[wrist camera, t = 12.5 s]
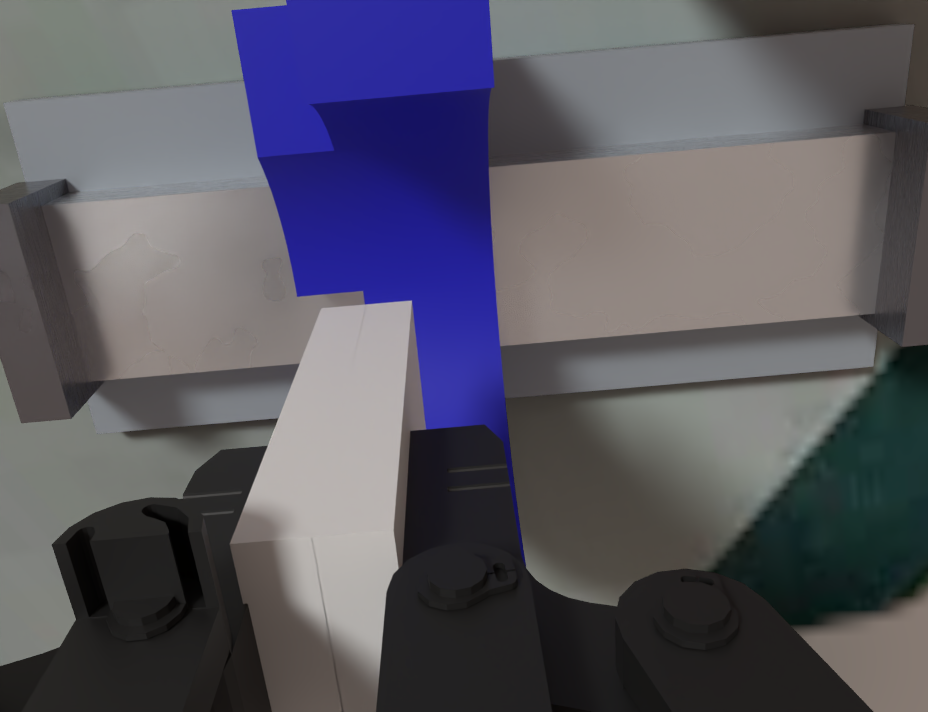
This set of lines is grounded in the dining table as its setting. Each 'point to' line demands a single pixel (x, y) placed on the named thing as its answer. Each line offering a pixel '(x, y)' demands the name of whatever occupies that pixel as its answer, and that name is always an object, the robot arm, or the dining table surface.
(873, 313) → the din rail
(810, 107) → the mount plate
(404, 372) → the robot arm
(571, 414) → the dining table surface
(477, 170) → the cable clip
